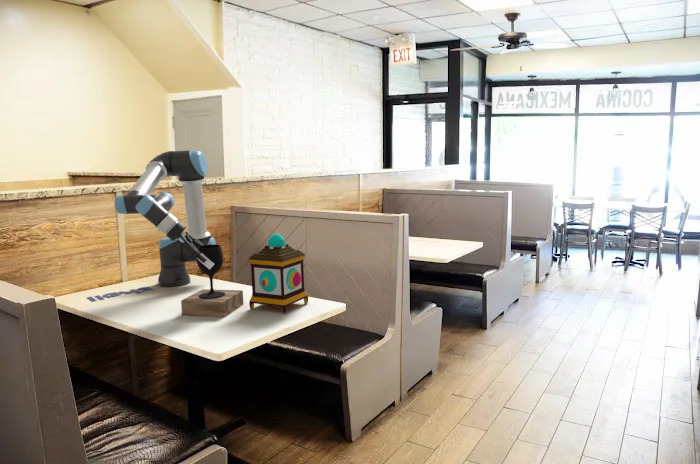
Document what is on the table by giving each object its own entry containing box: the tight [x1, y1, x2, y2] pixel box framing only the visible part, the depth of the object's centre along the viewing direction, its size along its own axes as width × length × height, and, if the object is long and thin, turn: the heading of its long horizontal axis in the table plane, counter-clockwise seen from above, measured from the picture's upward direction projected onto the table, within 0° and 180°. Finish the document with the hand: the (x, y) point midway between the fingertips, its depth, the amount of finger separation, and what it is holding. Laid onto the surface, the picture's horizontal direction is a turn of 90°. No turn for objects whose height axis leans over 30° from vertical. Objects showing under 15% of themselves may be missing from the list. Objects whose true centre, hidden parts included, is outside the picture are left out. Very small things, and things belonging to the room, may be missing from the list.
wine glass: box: [196, 244, 225, 299], centre depth 218 cm, size 10×10×20 cm
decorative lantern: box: [247, 233, 309, 315], centre depth 221 cm, size 20×20×30 cm
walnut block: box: [180, 288, 244, 318], centre depth 220 cm, size 18×18×6 cm
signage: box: [86, 286, 154, 303], centre depth 251 cm, size 28×1×10 cm
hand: (213, 263), depth 218 cm, fingers open, 13 cm apart
